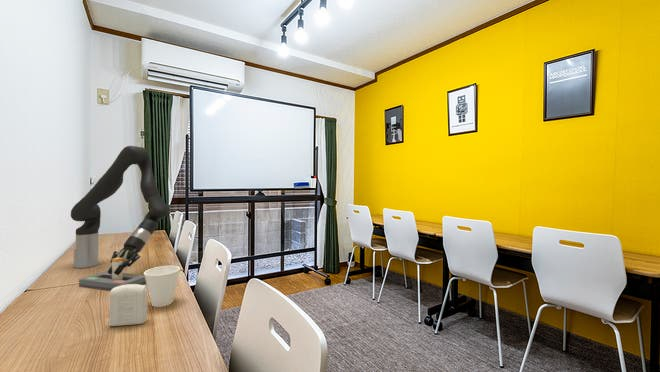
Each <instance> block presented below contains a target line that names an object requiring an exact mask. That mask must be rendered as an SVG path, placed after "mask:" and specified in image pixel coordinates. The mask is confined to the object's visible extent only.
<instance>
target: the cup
mask: <svg viewBox="0 0 660 372" xmlns="http://www.w3.org/2000/svg"><path fill="white" fill-rule="evenodd" d="M180 270H181V267H180V266H178V265H177V266H176V265H161V266H156V267H152V268H149V269H146V270H145V271H144V272H143V275H144V276H145V279H146V283H145V284H146V287H147V292H148V294H149V295H148V296H149V300H150V303H151V306H152V307H153V306H154V307H153V308H162V307H163V306H164V307H167V306H170V305H171V303H172V302H173V303H174V299H175V294H176V291H177V286H178V280H179V276H180ZM173 303H172V304H173ZM169 304H170V305H169ZM166 305H167V306H166Z"/></svg>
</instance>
